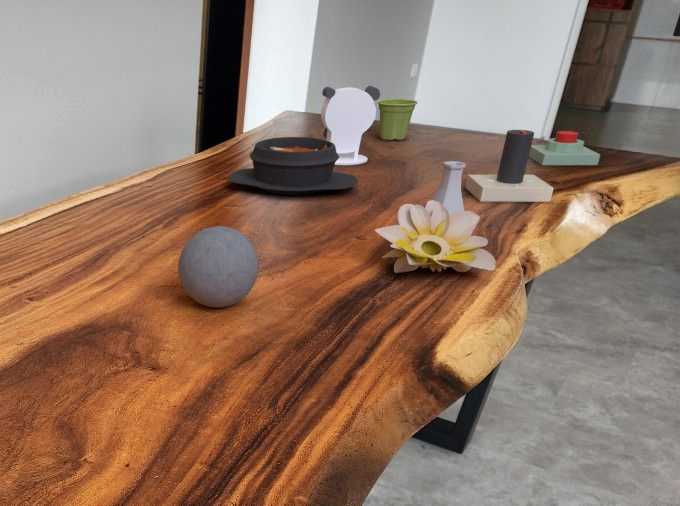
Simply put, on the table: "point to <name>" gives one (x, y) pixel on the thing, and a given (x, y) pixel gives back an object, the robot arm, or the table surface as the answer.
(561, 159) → the button housing
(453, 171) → the flask
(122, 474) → the table surface
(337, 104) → the panda figurine
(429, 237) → the decorative flower
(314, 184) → the casserole
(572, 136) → the push knob
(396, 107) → the plant pot
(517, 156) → the dial
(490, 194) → the dial panel
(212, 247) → the decorative ball
